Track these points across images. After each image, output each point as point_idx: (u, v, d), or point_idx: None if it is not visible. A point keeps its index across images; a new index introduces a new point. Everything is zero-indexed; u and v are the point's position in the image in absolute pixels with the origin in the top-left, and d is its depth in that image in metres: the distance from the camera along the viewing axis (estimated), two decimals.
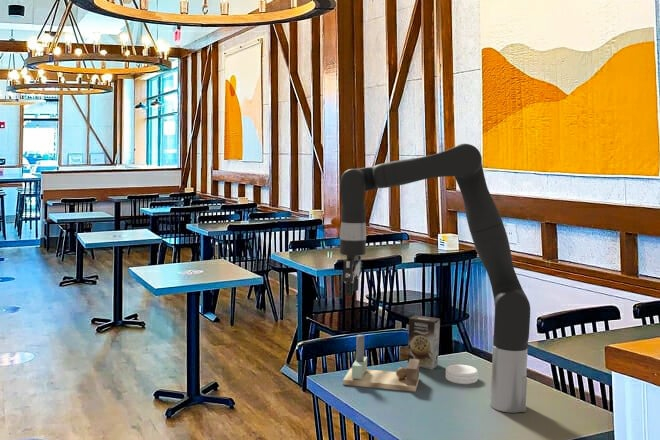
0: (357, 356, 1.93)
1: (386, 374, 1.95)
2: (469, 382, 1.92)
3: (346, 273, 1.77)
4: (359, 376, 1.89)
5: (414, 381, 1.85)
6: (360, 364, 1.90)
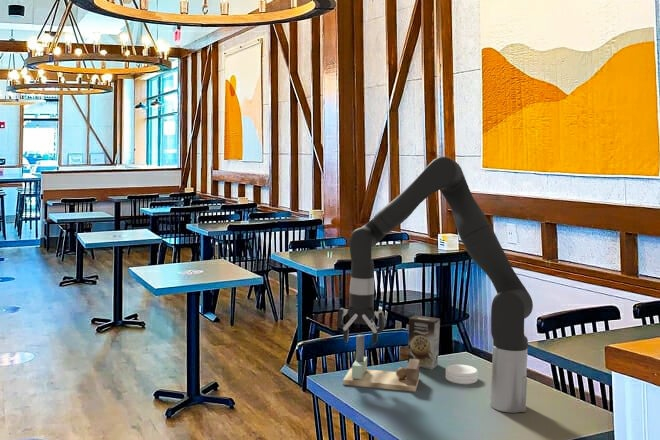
0: (357, 356, 1.93)
1: (386, 374, 1.95)
2: (469, 382, 1.92)
3: (373, 324, 1.91)
4: (359, 376, 1.89)
5: (414, 381, 1.85)
6: (360, 364, 1.90)
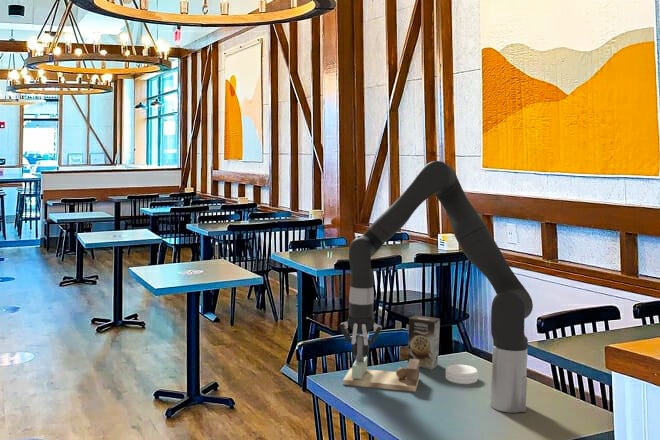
0: (357, 356, 1.93)
1: (386, 374, 1.95)
2: (469, 382, 1.92)
3: (367, 336, 1.92)
4: (359, 376, 1.89)
5: (414, 381, 1.85)
6: (360, 364, 1.90)
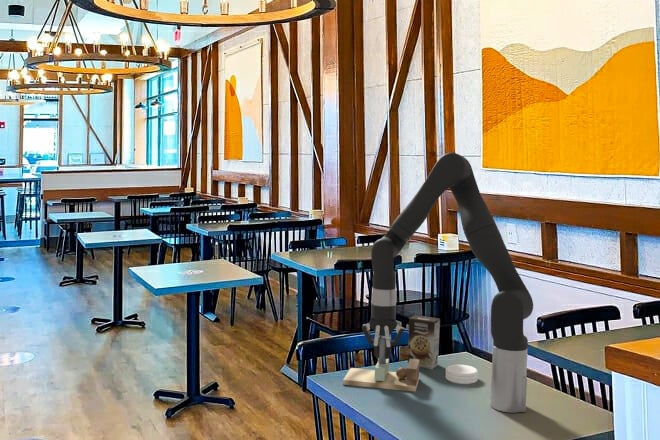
0: (379, 358, 1.91)
1: None
2: (469, 382, 1.92)
3: (390, 338, 1.90)
4: (382, 378, 1.87)
5: (414, 381, 1.85)
6: (382, 366, 1.89)
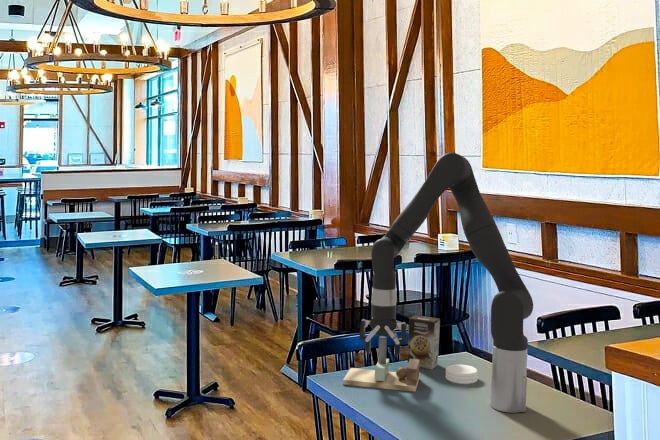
0: (379, 358, 1.91)
1: None
2: (469, 382, 1.92)
3: (395, 335, 1.90)
4: (382, 378, 1.87)
5: (414, 381, 1.85)
6: (382, 366, 1.89)
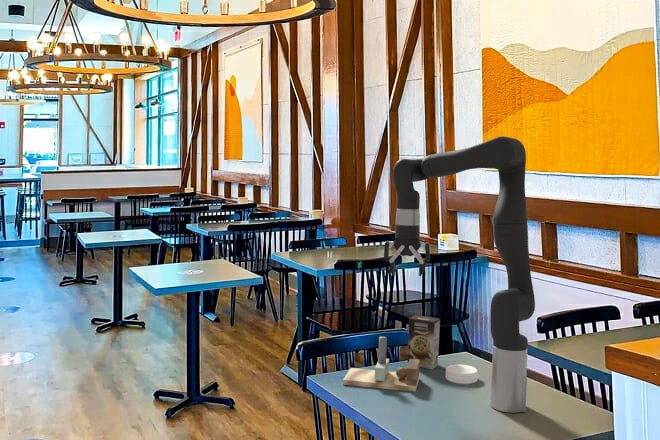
0: (379, 358, 1.91)
1: None
2: (469, 382, 1.92)
3: (419, 255, 1.92)
4: (382, 378, 1.87)
5: (414, 381, 1.85)
6: (382, 366, 1.89)
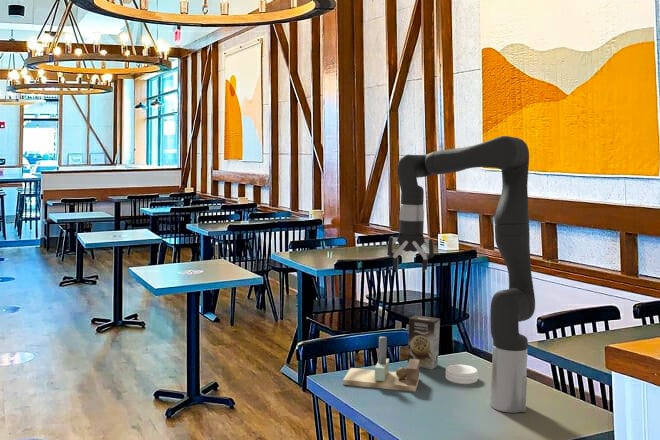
0: (379, 358, 1.91)
1: None
2: (469, 382, 1.92)
3: (423, 251, 1.93)
4: (382, 378, 1.87)
5: (414, 381, 1.85)
6: (382, 366, 1.89)
